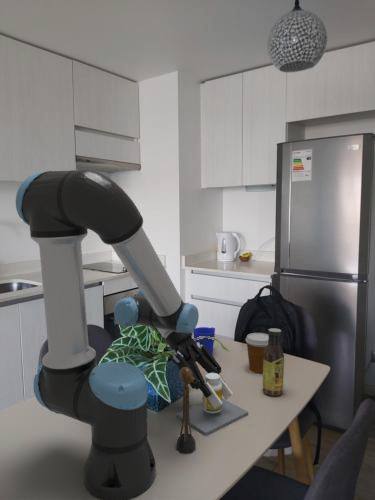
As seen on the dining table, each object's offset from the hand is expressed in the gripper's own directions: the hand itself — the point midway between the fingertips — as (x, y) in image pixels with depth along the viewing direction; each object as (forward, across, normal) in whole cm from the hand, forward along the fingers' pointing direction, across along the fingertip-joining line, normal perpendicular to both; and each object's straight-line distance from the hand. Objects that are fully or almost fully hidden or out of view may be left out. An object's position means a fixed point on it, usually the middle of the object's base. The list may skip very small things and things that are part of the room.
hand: (224, 401), depth 107 cm
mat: (+1, 0, -6) cm, 6 cm away
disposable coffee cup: (0, -36, -8) cm, 37 cm away
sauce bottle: (+7, -23, 0) cm, 24 cm away
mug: (-17, -38, -24) cm, 49 cm away
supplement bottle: (0, 0, -5) cm, 5 cm away
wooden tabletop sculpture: (+3, +16, -5) cm, 17 cm away
